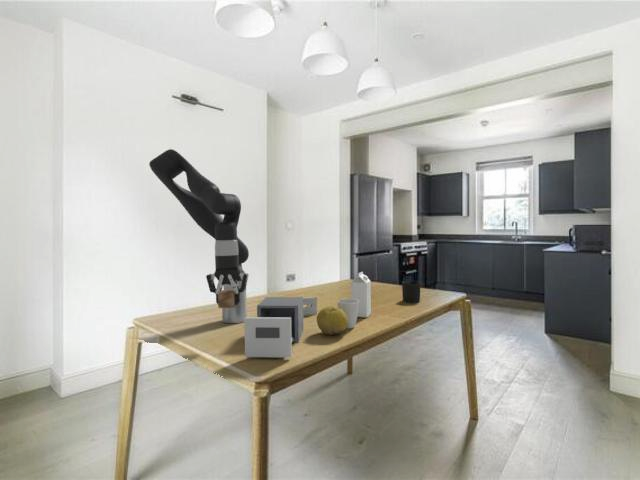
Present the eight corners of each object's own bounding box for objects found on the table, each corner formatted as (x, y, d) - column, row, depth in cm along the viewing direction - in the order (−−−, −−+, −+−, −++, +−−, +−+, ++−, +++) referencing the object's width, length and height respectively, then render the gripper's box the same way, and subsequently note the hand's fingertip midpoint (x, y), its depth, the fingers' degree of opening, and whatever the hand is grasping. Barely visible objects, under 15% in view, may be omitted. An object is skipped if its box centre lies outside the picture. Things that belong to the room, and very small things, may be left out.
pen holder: (417, 303, 179) (417, 283, 179) (399, 301, 184) (399, 282, 184) (422, 300, 187) (422, 281, 187) (405, 298, 192) (405, 280, 192)
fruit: (324, 340, 120) (324, 311, 120) (311, 331, 131) (311, 305, 131) (353, 336, 125) (353, 308, 125) (338, 328, 136) (338, 302, 135)
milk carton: (350, 316, 153) (350, 273, 153) (355, 313, 160) (355, 271, 159) (366, 318, 151) (366, 273, 150) (370, 314, 157) (370, 271, 157)
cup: (360, 324, 140) (360, 299, 140) (355, 330, 132) (355, 303, 132) (340, 323, 143) (340, 298, 142) (335, 328, 135) (334, 302, 135)
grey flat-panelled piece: (244, 357, 103) (244, 318, 103) (257, 340, 119) (256, 307, 118) (291, 357, 102) (290, 318, 102) (297, 341, 118) (297, 307, 117)
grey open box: (257, 341, 120) (257, 305, 120) (267, 329, 135) (266, 297, 135) (298, 342, 119) (298, 305, 119) (303, 329, 134) (303, 297, 134)
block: (218, 307, 115) (218, 292, 115) (223, 304, 120) (222, 290, 120) (233, 307, 115) (233, 292, 115) (237, 304, 120) (237, 289, 120)
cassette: (316, 313, 160) (315, 296, 160) (317, 314, 158) (317, 297, 158) (290, 316, 155) (290, 299, 155) (292, 317, 154) (291, 299, 153)
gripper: (201, 255, 114) (203, 307, 114) (245, 254, 113) (247, 307, 114) (209, 253, 121) (211, 302, 122) (250, 252, 121) (252, 302, 121)
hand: (228, 304), depth 118 cm, fingers closed on block, 5 cm apart
